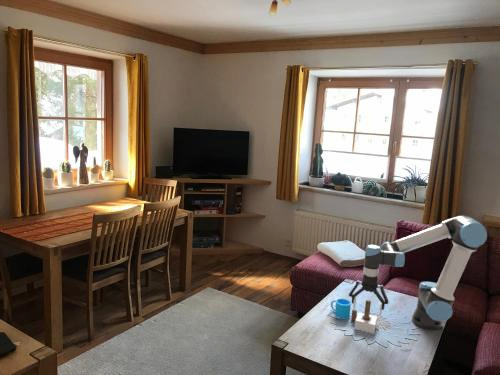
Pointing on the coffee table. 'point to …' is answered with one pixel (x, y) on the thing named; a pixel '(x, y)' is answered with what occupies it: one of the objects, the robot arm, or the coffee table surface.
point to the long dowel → (367, 310)
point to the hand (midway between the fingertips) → (367, 312)
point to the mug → (342, 308)
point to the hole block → (365, 323)
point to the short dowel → (354, 315)
